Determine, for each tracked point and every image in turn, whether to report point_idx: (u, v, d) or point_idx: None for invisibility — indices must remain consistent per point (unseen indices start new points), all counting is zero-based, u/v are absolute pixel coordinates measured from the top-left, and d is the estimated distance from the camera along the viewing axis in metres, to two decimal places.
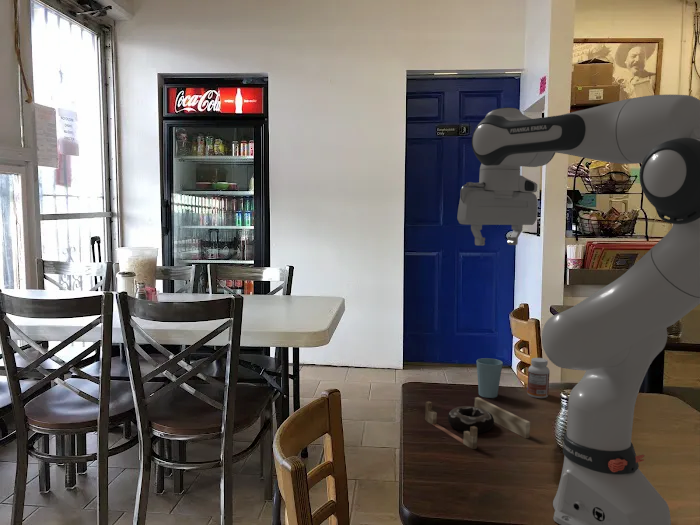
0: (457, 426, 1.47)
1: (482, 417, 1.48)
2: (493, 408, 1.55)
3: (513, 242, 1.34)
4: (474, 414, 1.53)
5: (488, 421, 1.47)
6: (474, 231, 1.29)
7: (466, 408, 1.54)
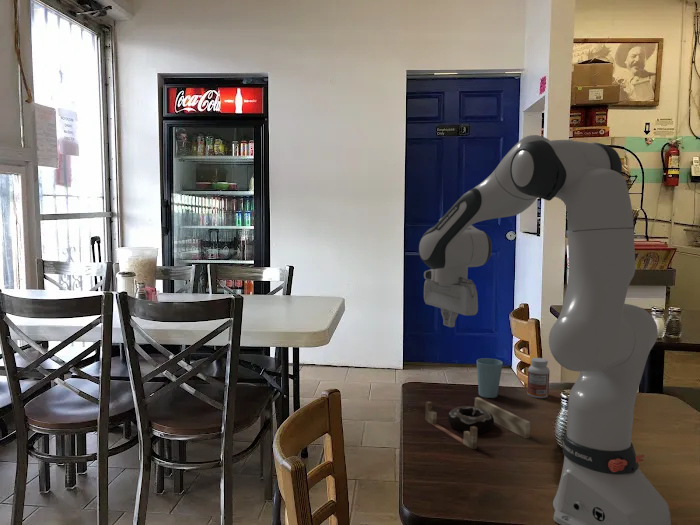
0: (457, 426, 1.47)
1: (482, 417, 1.48)
2: (493, 408, 1.55)
3: None
4: (474, 414, 1.53)
5: (488, 421, 1.47)
6: (454, 316, 1.57)
7: (466, 408, 1.54)
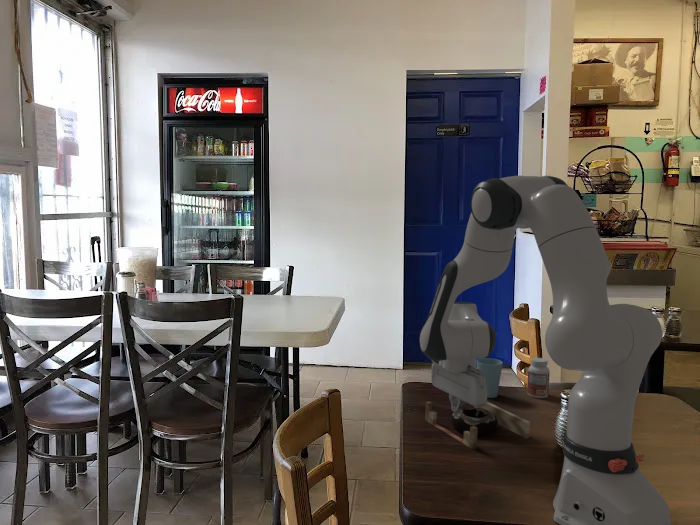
0: (460, 427, 1.46)
1: (486, 418, 1.46)
2: (493, 408, 1.55)
3: None
4: (478, 415, 1.52)
5: (492, 422, 1.46)
6: (462, 403, 1.54)
7: (469, 409, 1.53)
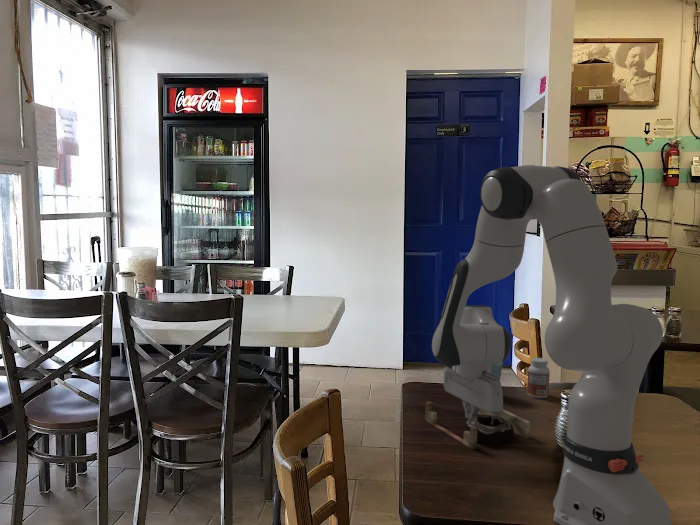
0: None
1: (501, 427, 1.41)
2: None
3: None
4: (493, 423, 1.46)
5: (507, 431, 1.40)
6: (476, 410, 1.49)
7: (484, 417, 1.47)
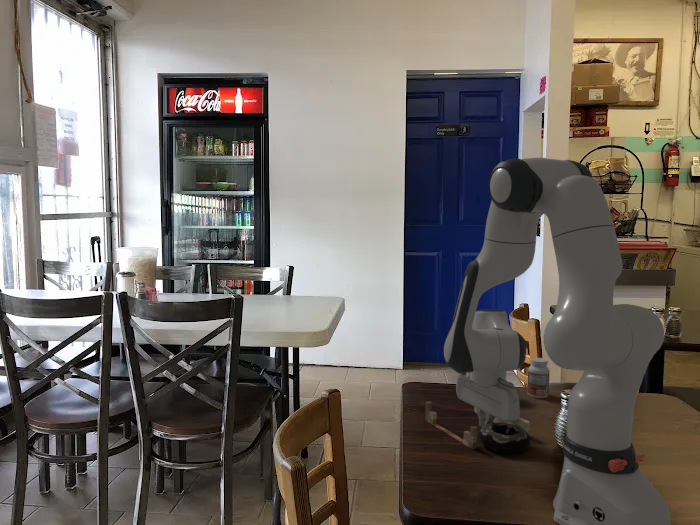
0: (489, 445, 1.36)
1: (517, 436, 1.35)
2: None
3: None
4: (508, 432, 1.41)
5: (523, 440, 1.35)
6: (491, 418, 1.44)
7: (500, 425, 1.42)
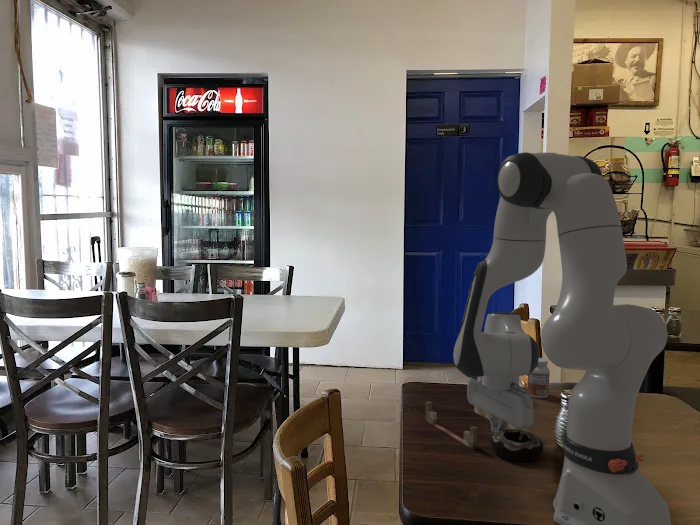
0: (500, 452, 1.32)
1: (529, 443, 1.31)
2: None
3: None
4: (521, 439, 1.37)
5: (536, 448, 1.31)
6: (504, 424, 1.40)
7: (512, 431, 1.38)
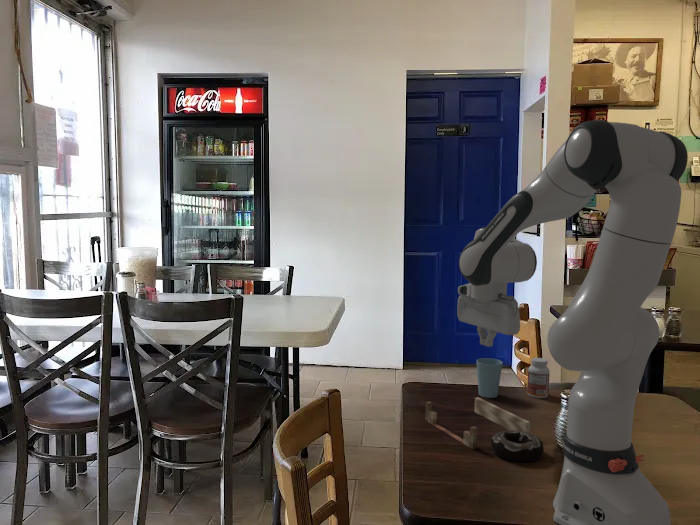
0: (500, 453, 1.32)
1: (529, 444, 1.31)
2: (493, 408, 1.55)
3: None
4: (521, 440, 1.37)
5: (536, 449, 1.31)
6: (492, 335, 1.45)
7: (512, 432, 1.38)
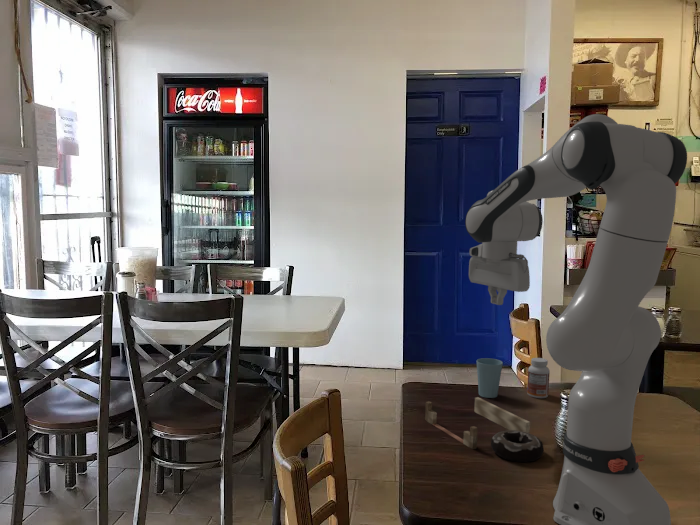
0: (500, 453, 1.32)
1: (529, 444, 1.31)
2: (493, 408, 1.55)
3: None
4: (521, 440, 1.37)
5: (536, 449, 1.31)
6: (503, 293, 1.52)
7: (512, 432, 1.38)
